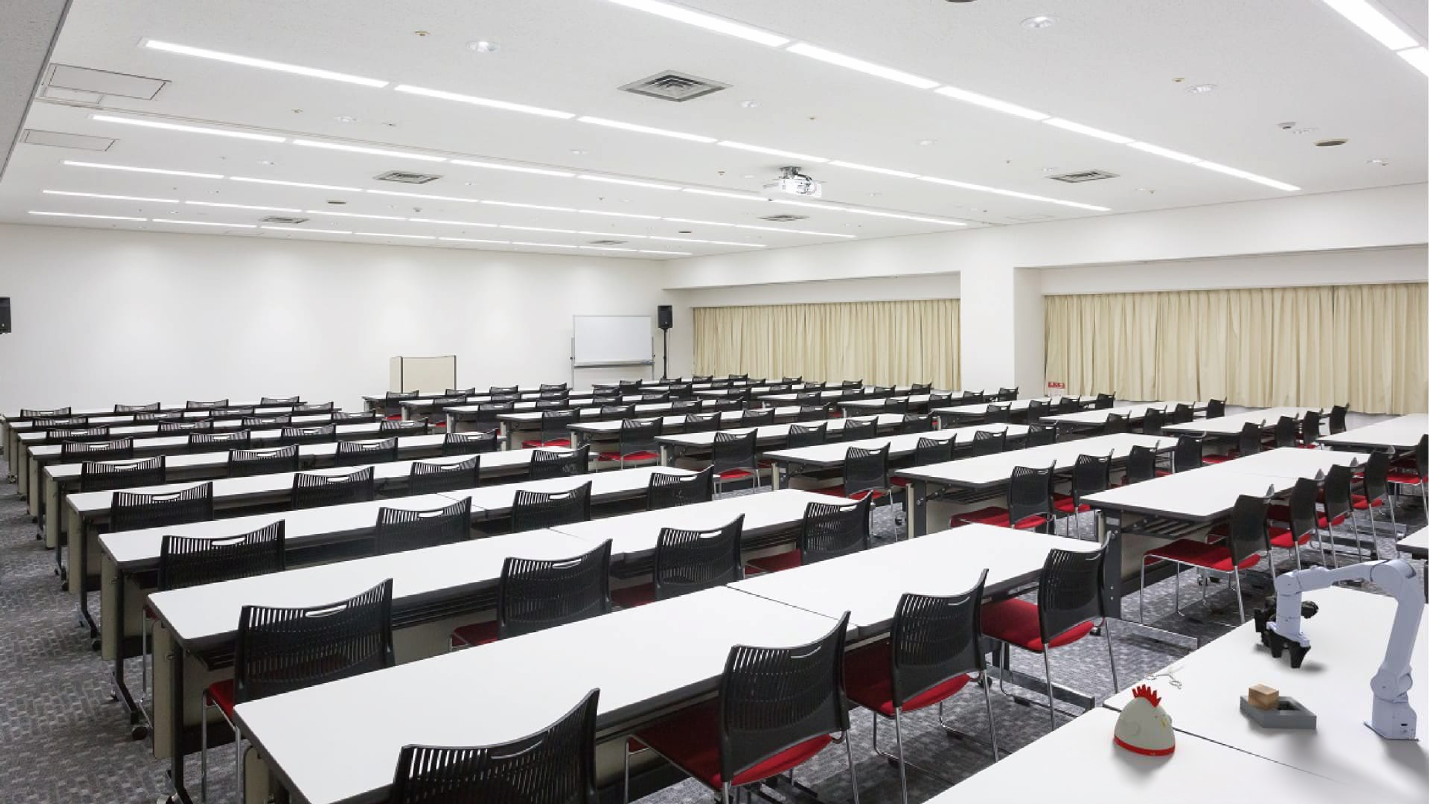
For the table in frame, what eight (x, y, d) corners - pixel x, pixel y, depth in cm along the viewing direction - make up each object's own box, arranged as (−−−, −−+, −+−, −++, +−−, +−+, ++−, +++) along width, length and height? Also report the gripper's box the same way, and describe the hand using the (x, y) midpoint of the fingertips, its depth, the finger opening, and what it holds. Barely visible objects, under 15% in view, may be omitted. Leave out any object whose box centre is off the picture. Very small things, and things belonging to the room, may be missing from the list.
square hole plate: (1316, 728, 234) (1316, 715, 234) (1263, 727, 235) (1263, 714, 235) (1290, 708, 246) (1290, 696, 246) (1239, 707, 247) (1240, 695, 247)
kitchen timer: (1147, 760, 219) (1149, 701, 217) (1102, 736, 231) (1103, 680, 230) (1187, 749, 224) (1190, 691, 223) (1141, 726, 237) (1143, 671, 235)
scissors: (1141, 678, 266) (1160, 658, 282) (1141, 681, 267) (1159, 660, 282) (1180, 688, 260) (1197, 666, 275) (1180, 690, 260) (1197, 669, 275)
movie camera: (1315, 657, 280) (1315, 601, 280) (1249, 646, 292) (1249, 593, 291) (1328, 633, 304) (1328, 582, 303) (1267, 625, 315) (1267, 575, 315)
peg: (1277, 718, 240) (1279, 690, 239) (1266, 722, 238) (1267, 694, 237) (1258, 711, 244) (1260, 684, 244) (1247, 715, 242) (1248, 687, 241)
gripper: (1321, 623, 244) (1318, 672, 246) (1284, 606, 259) (1281, 652, 260) (1296, 624, 244) (1293, 673, 245) (1260, 607, 258) (1258, 653, 260)
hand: (1285, 662), depth 253 cm, fingers open, 7 cm apart
